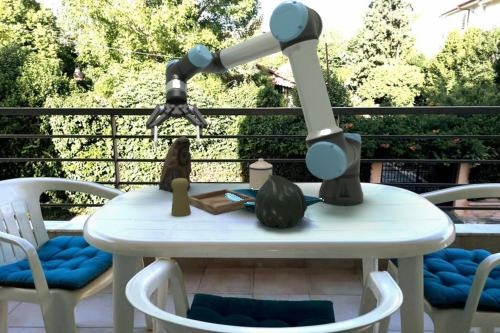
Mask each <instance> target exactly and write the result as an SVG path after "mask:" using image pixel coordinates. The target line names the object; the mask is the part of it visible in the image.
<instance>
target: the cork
mask: <svg viewBox="0 0 500 333" xmlns="http://www.w3.org/2000/svg"><path fill="white" fill-rule="evenodd" d="M171 186H172V189H173V192H172V200H171V202H172V203H171V213H170V214H171V216H173V217H177V218H180V217H181V218H182V217H188V216H191V214H192V211H191V205H190V204H189V198H188V196H189V193H188V192H189V191H188V192H187V188H188V186H189V182H188V180H187V179H185V178H176V179H174V180H172V183H171Z"/></svg>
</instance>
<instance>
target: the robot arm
mask: <svg viewBox="0 0 500 333" xmlns="http://www.w3.org/2000/svg"><path fill="white" fill-rule="evenodd" d="M268 23H269V24H268V25H269V31H267V32H265V33H262V34H260V35H257V36H253V37H251V38H249V39H247V40H244V41H241V42H239V43H235V44H233V45H231V46H228V47H224V48H223V49H220V50H217V51H215V52H211V51H210V50H209V48H207V47H206V46H204V45H203V44H201V43H200V44H196V45H195V46H194V47H193V48H191V49H190V50H188V51H187V53H185V54H184V55H183V56H182V57H181V58H180V59H176V58H175V59H172V60H170V61H168V62H167V64H166V65H165V105H160V103H157V104H156V105H155V109H154V110H153V112H152V113H151V115H150V116H149V117H148V119H147V120H146V121H145V128H146V130H150V137H151V138H153V139H154V141H153V144H154V148H157V147H158V135H159V134H158V128H159V127H160V126H161V125H163V124H164V123H165V122H166V121H168V120H169V119H171V118H172V119H177V118H178V119H182V118H183V119H184V120H187V121H188V122H189V123H190V124H191V125H192V126H194V127H195V129H196V131H195V132H196V146H197V147H200V146H201V145H200V140H201V139H200V138H203V130H204V129H205V130H207V129H208V121H207V120H206V119H205V117H204V116H203V115H202V113H201V112H200V110H199V109H198V107H197V106H198V105H197V104H196V103H193V104H192V105H189V104H188V83H187V82H189V81H190V80H191V79H192V78H193V77H195V76H196V75H197V74H199V73H201V74H211V75H212V74H214V75H221V74H223V75H224V74H225V73H227V71H229V70H230V69H233V68H236V67H240V66H242V65H245V64H247V63H250V62H253V61H257V60H259V59H262V58H265V57H267V56H271V55H273V54H277V53H280V52H281V54H282V55H283V56H285V57H286V58H288V62H289V65H290V68H291V72H292V76H293V80H294V84H295V87H296V90H297V94H298V99H299V102H300V106H301V109H302V113H303V116H304V121H305V125H306V128H307V136H306V138H305V144H306V147H307V152H306V155H305V165H306V167H307V169H308V171H309V172H310V173H311V174H312V175H313V176H314V177H316V178H318V179H321V180H322V182H321V184H320V187H319V190H318V194H317V195H318V197H317V198H318V199H319V198H322V199H324V201H322V202H323V203H326V204H330V205H336V206H354V205H359V204H362V203H363V202H364V192H363V187H362V185H361V179H360V167H361V152H362V151H361V150H362V149H361V148H362V137H361V135H360V134H359V133H353V132H352V133H349V132H344V130H343V129H342V128H341V127H339V126H338V125H337V124H336V119H335V116H334V112H333V108H332V104H331V102H330V97H329V93H328V90H327V89H328V88H327V85H326V81H325V79H324V75H323V71H322V67H321V64H320V59H319V55H318V52H317V47H318V45H319V44H320V39H319V38H320V37H321V35H322V33H323V29H324V28H323V27H324V26H323V20H322V17H321V15H320V14H319V13H318V12H317V11H316V10H315V9H313V8H311V7H310V6H307V5H305V4H304V3H303V2H301V1H297V0H285V1H282V2H281V3H279V4H278V5H277V6H276V7H275V8H274V10H273V11H272V13H271V15H270V18H269V22H268ZM163 111H164V112H163ZM189 111H190V112H191V113H192V114H193V115H194V116H195V117H194V116H193V115H192V114H191V113H190V112H189ZM162 112H163V114H162ZM160 113H161V115H160Z"/></svg>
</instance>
